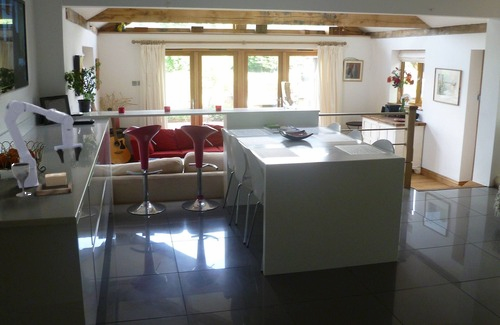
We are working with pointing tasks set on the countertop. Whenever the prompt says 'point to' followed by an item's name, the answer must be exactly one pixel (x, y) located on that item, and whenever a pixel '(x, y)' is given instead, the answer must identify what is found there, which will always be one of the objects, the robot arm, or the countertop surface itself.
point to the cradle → (53, 190)
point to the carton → (55, 179)
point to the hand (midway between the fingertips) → (69, 161)
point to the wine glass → (21, 175)
